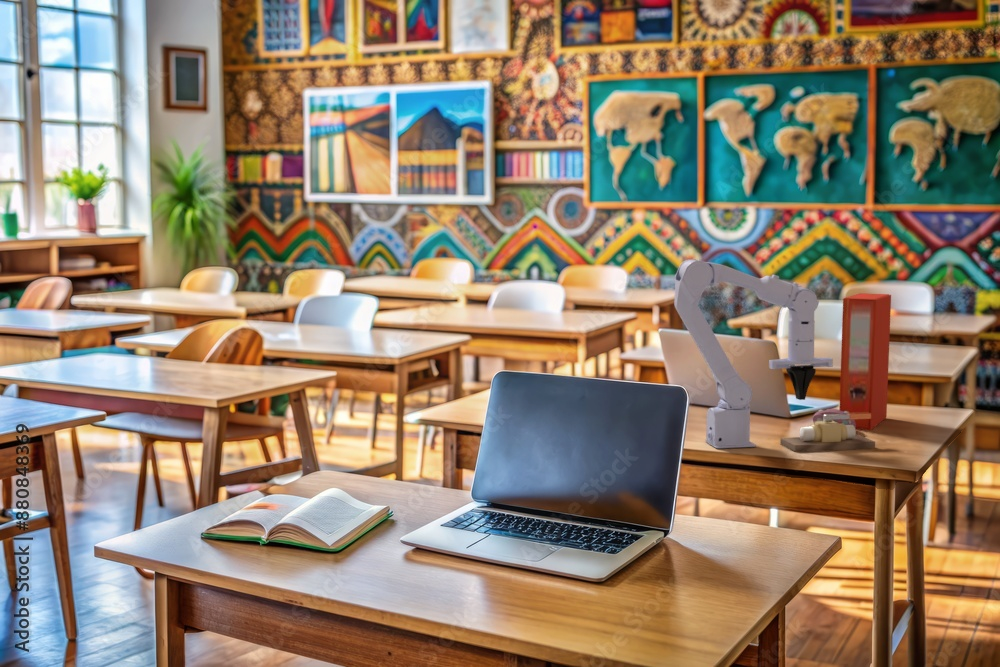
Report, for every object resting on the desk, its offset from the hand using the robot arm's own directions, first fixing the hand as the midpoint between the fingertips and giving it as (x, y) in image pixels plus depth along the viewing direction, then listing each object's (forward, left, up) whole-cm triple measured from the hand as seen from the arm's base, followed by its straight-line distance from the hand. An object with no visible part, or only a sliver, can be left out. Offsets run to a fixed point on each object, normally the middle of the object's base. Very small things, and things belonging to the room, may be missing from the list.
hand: (800, 399), depth 248 cm
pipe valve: (+5, -4, -10) cm, 12 cm away
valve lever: (+9, -4, -5) cm, 11 cm away
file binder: (+26, +20, -11) cm, 34 cm away
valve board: (+5, -4, -10) cm, 12 cm away
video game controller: (+14, +12, -11) cm, 21 cm away
